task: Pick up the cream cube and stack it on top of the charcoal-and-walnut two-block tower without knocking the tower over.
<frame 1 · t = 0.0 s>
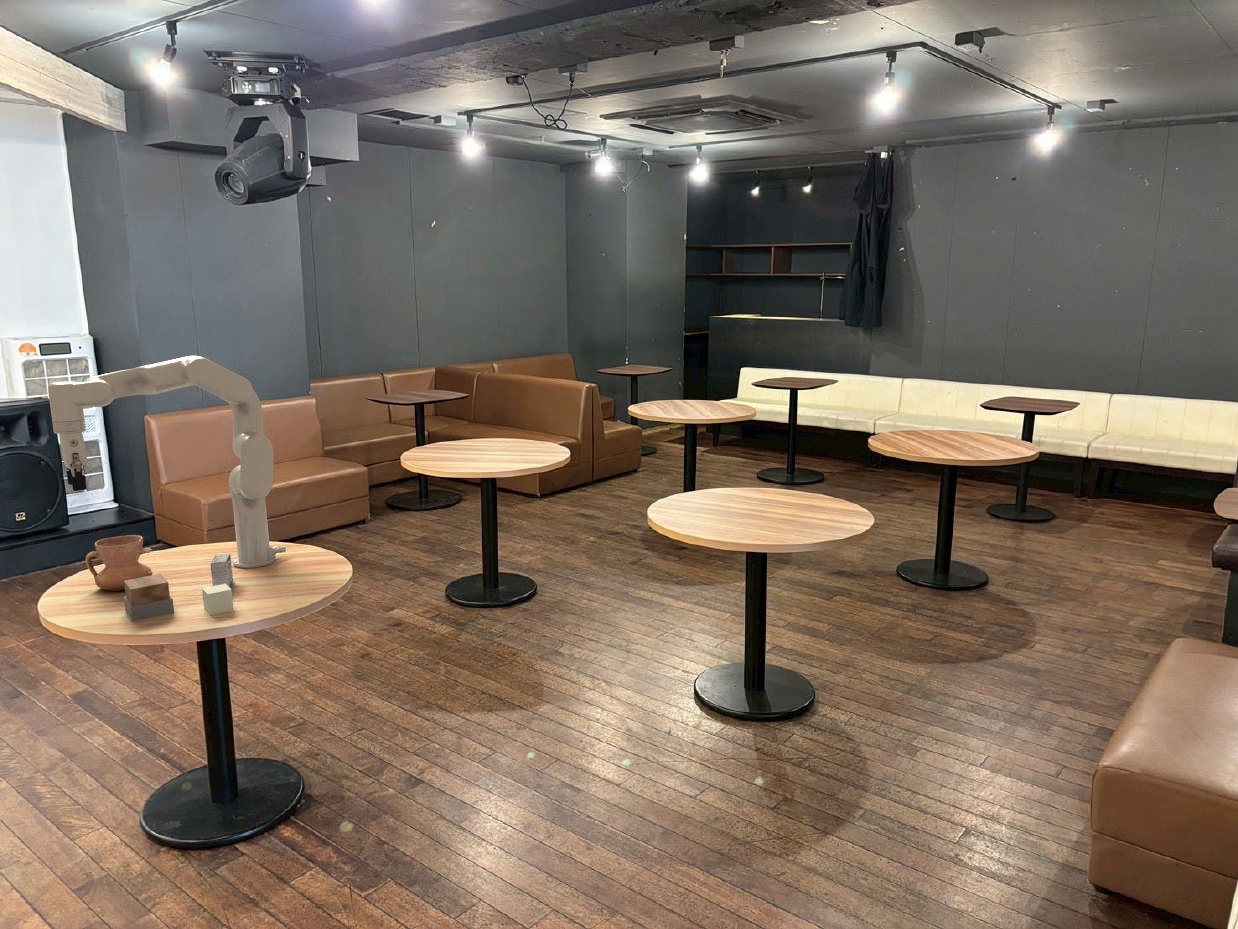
hand: (77, 487, 242), 31 cm above the table, fingers open, 9 cm apart
cream cube: (218, 609, 235), on the table
ceramic jug: (122, 587, 254), on the table
tower base block: (149, 613, 234), on the table, touching tower top block
tower top block: (147, 597, 233), point 4 cm above the table, touching tower base block
medicine box: (223, 587, 253), on the table
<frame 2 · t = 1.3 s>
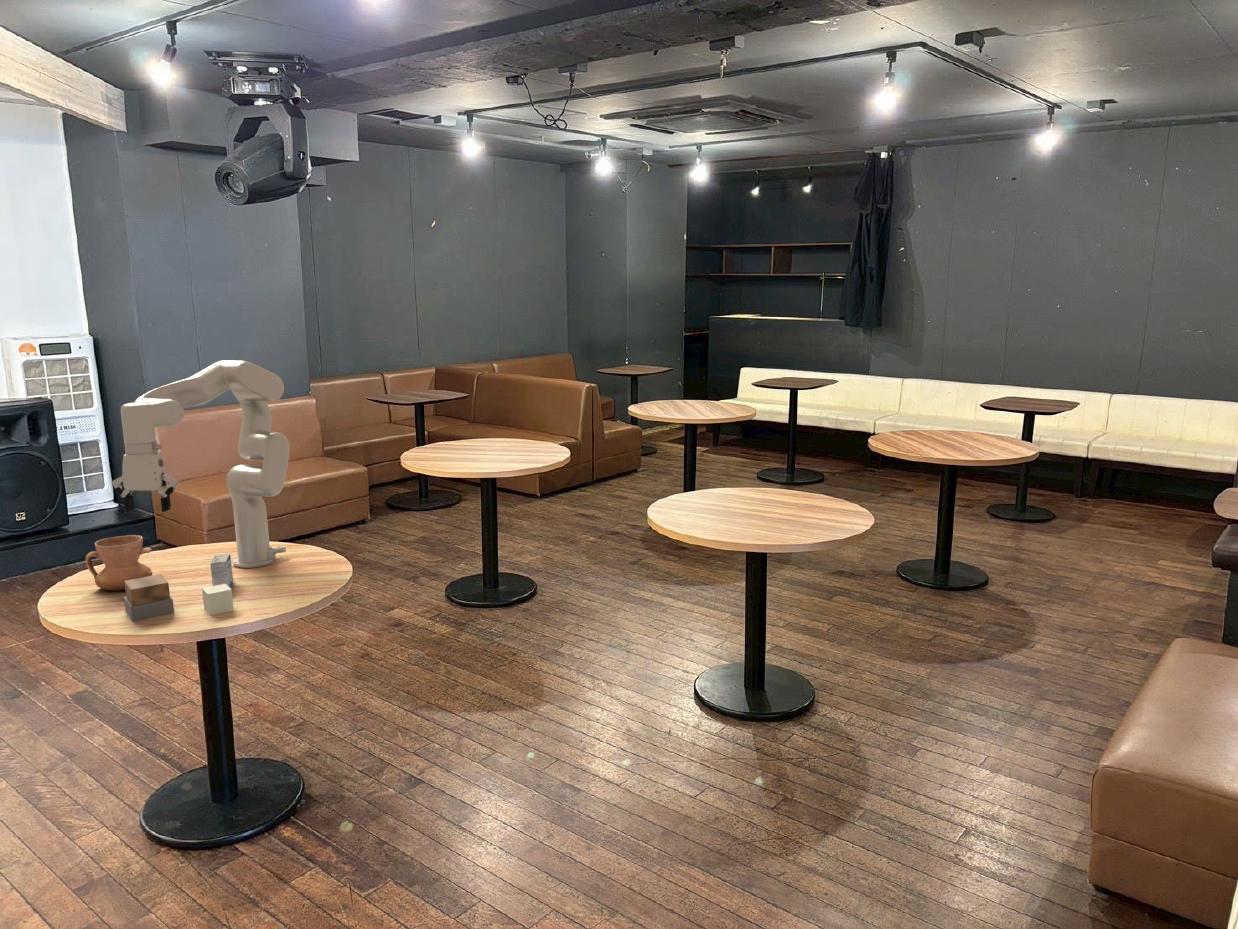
hand: (148, 510, 235), 26 cm above the table, fingers open, 9 cm apart
nothing on the table moved.
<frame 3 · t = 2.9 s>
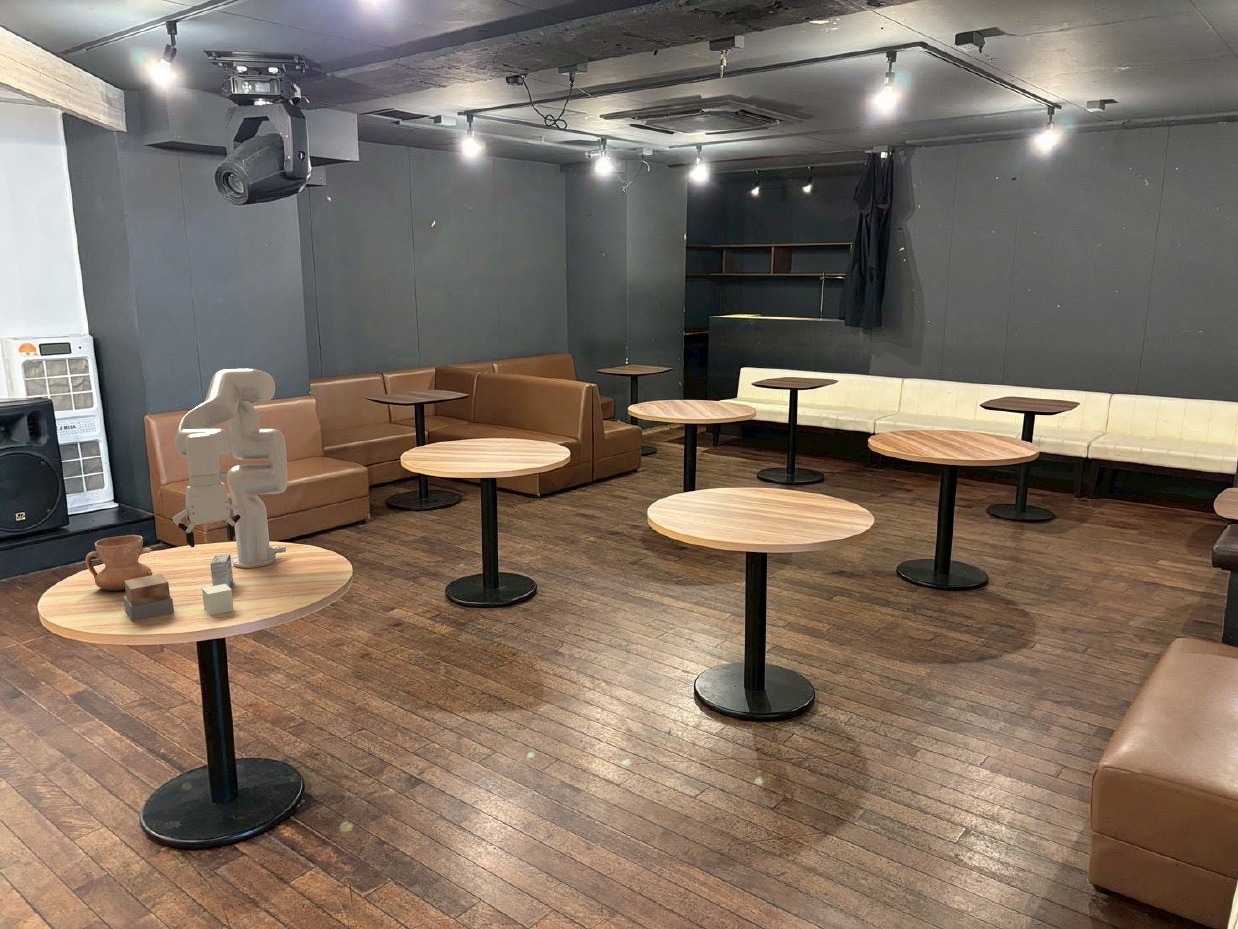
hand: (211, 543, 231), 19 cm above the table, fingers open, 9 cm apart
nothing on the table moved.
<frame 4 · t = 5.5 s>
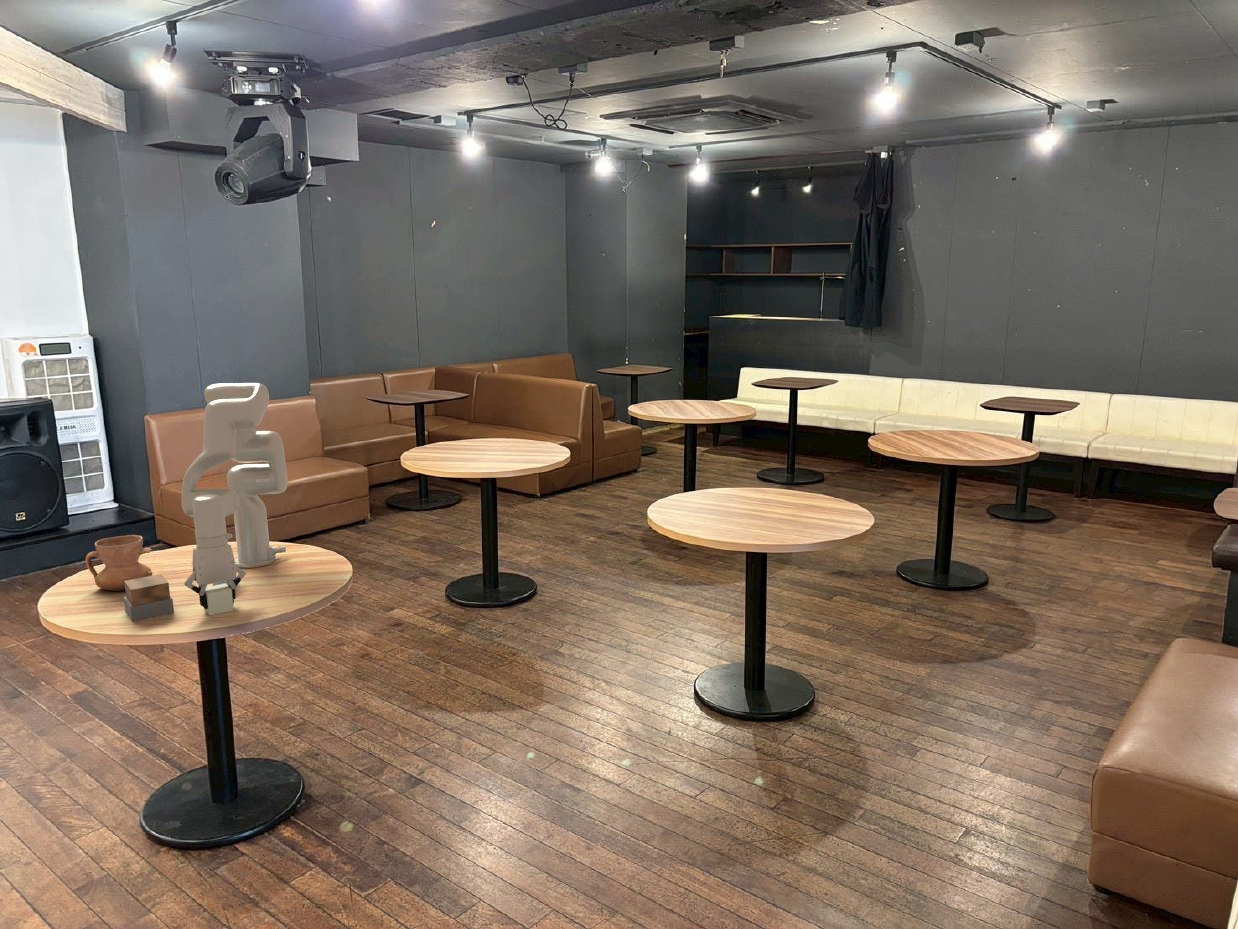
hand: (218, 604, 235), 1 cm above the table, fingers closed on cream cube, 6 cm apart
cream cube: (218, 609, 235), on the table, touching gripper
everything else where it was.
when the fingers open (12 cm above the table, at t = 13.0 s): cream cube drops 1 cm, point 9 cm above the table.
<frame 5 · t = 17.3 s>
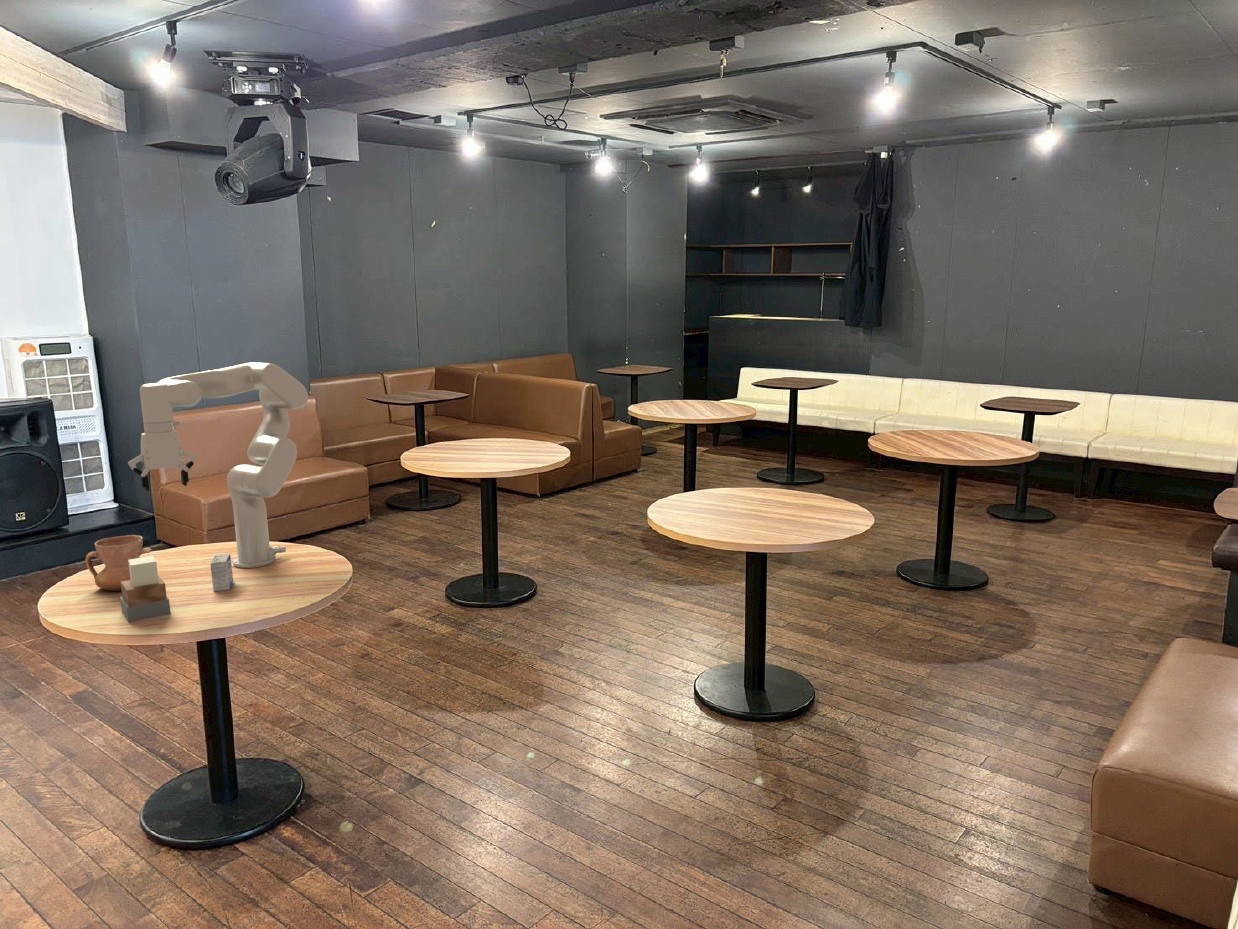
hand: (166, 487, 245), 30 cm above the table, fingers open, 9 cm apart
cream cube: (144, 582, 231), point 9 cm above the table
everything else where it was.
at the end: cream cube 0.5 cm off-centre on the tower top block, point 4.5 cm above the tower top block's base; tower top block 0.3 cm off-centre on the tower base block, point 4.5 cm above the tower base block's base; cream cube tilted 0° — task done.
